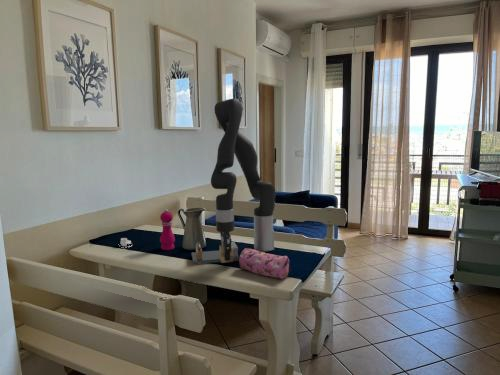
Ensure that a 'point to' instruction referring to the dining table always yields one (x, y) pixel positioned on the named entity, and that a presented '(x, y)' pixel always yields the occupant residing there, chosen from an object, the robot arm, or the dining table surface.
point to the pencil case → (264, 263)
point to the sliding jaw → (198, 251)
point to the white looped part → (125, 242)
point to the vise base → (214, 256)
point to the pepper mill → (167, 231)
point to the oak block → (222, 254)
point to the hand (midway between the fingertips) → (226, 257)
